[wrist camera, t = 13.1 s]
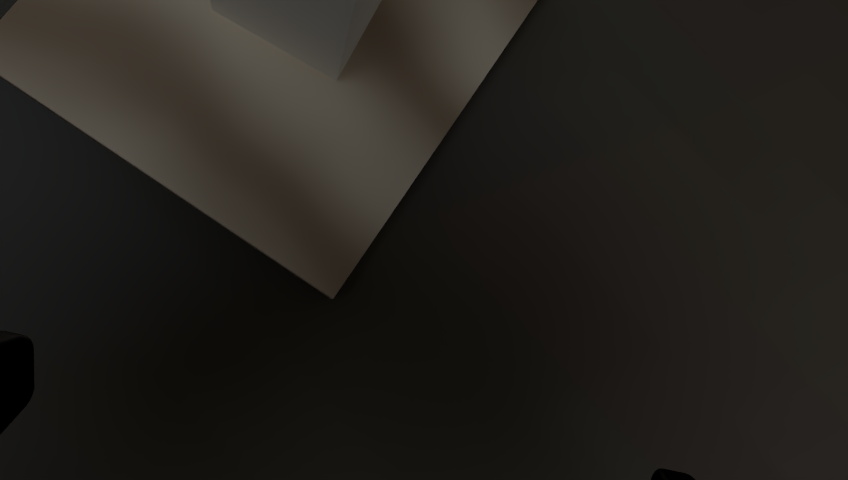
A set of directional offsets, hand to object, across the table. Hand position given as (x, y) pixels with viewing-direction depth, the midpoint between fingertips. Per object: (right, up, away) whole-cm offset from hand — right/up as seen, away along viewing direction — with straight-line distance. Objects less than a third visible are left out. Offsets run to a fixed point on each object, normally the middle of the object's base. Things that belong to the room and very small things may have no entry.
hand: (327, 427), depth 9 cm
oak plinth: (-3, +11, +13) cm, 18 cm away
